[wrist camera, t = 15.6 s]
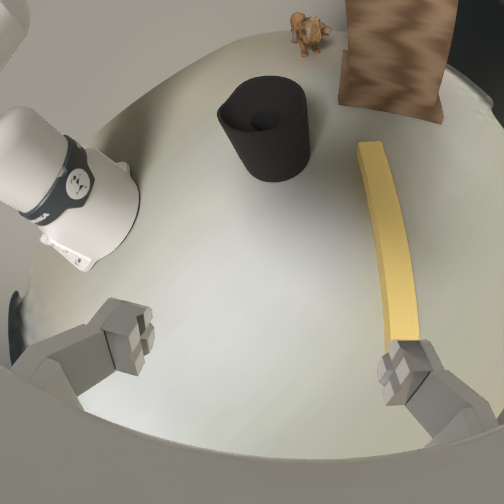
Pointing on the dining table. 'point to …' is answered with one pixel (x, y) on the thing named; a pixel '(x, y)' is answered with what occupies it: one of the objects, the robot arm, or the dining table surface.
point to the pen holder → (268, 127)
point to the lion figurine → (307, 31)
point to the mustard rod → (389, 244)
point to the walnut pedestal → (397, 55)
